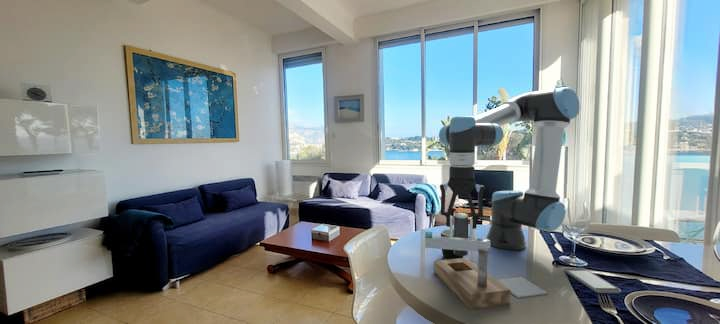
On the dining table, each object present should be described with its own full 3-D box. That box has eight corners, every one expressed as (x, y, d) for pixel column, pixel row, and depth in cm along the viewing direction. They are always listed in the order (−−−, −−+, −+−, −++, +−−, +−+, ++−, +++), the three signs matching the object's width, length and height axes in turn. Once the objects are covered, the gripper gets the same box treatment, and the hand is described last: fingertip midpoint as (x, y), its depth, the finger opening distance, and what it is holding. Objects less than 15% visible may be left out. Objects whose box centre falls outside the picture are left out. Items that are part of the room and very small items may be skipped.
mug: (469, 263, 105) (470, 236, 104) (445, 264, 105) (445, 237, 104) (456, 251, 117) (457, 226, 116) (435, 251, 117) (435, 227, 116)
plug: (463, 249, 97) (463, 211, 96) (473, 255, 92) (473, 215, 91) (448, 251, 96) (449, 213, 95) (458, 257, 90) (458, 217, 89)
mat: (521, 278, 94) (521, 276, 94) (547, 294, 84) (547, 292, 84) (494, 281, 92) (494, 280, 92) (517, 298, 82) (517, 296, 82)
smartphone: (583, 268, 100) (622, 290, 85) (583, 271, 100) (622, 294, 85) (562, 267, 100) (597, 290, 85) (562, 271, 100) (597, 294, 85)
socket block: (465, 268, 101) (466, 230, 100) (510, 303, 80) (511, 255, 79) (434, 272, 99) (434, 233, 98) (470, 308, 77) (472, 259, 76)
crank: (488, 248, 83) (489, 234, 82) (491, 253, 79) (491, 238, 79) (425, 244, 87) (425, 230, 86) (425, 248, 83) (425, 234, 83)
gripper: (431, 166, 91) (430, 238, 93) (495, 167, 85) (493, 244, 87) (432, 164, 98) (432, 231, 100) (492, 165, 92) (490, 236, 94)
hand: (460, 237), depth 93 cm, fingers closed on plug, 5 cm apart
